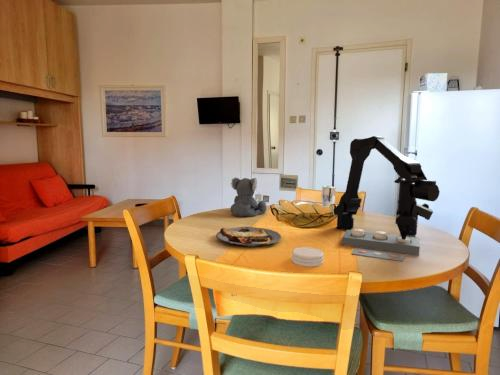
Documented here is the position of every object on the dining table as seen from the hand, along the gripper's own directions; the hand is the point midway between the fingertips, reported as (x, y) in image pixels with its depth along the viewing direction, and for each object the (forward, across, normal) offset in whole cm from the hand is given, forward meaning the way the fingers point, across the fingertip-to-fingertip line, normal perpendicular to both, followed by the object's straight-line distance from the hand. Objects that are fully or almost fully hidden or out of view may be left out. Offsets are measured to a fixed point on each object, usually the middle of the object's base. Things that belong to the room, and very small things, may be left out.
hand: (403, 239), depth 126 cm
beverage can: (+4, +20, -2) cm, 20 cm away
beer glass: (+4, +42, +36) cm, 55 cm away
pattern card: (+3, -12, +8) cm, 15 cm away
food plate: (+4, -15, +55) cm, 57 cm away
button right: (+3, 0, 0) cm, 3 cm away
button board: (+3, 0, +8) cm, 9 cm away
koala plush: (+4, +26, +75) cm, 79 cm away
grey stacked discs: (+4, -29, +28) cm, 40 cm away
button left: (+2, 0, +16) cm, 16 cm away
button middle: (+2, 0, +8) cm, 8 cm away
